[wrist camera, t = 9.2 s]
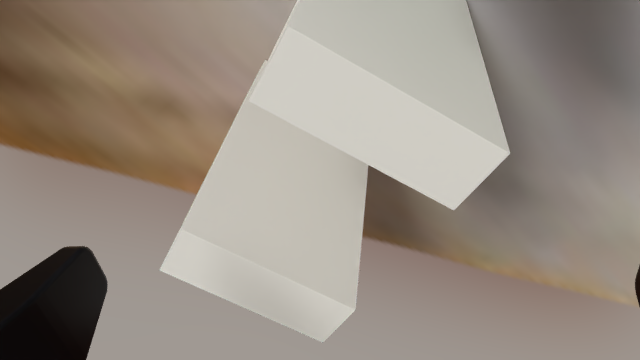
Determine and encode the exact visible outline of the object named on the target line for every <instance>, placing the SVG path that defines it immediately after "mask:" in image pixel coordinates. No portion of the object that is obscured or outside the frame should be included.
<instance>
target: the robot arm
mask: <svg viewBox="0 0 640 360" xmlns="http://www.w3.org/2000/svg"><path fill="white" fill-rule="evenodd" d="M635 290H636V295H637V299H638V303H639V306H640V266H639V269H638V272H637V275H636V279H635ZM106 293H107V279H106V276H105V274H104V272H103V270H102V269H101V267H100V265H99V263H98V261H97V259H96V257H95V256H94V254H93V252H92V251H91V250H90V249H89V248H88V247H84V246H77V247H64V248H62V249H60V250H59V251H57V252H56V253H54V254H53V255H51V256H50V257H48V258H47V259H45V260H44V261H42V262H41V263H39V264H38V265H36V266H35V267H33V268H32V269H30V270H29V271H27V272H26V273H24V274H23V275H21V276H20V277H18V278H17V279H15V280H14V281H12V282H11V283H9V284H8V285H6V286H5V287H3V288H2V289H0V360H86V358H87V354H88V352H89V348H90V345H91V342H92V338H93V335H94V332H95V329H96V325H97V322H98V319H99V316H100V312H101V309H102V306H103V302H104V299H105V296H106Z"/></svg>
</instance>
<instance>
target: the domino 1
mask: <svg viewBox="0 0 640 360" xmlns="http://www.w3.org/2000/svg"><path fill="white" fill-rule="evenodd" d="M267 62H268V61H267V60H266V59H265V61H264V63H263V65H262V67H261V68H260V70H259V72H258V74H257V76H256V78H255V80H254V82H253V84H252V86H251V88H250V90H249V92H248V93H247V95H246V97H245V99H244V101H243V103H242V105H241V107H240V109H239V111H238V113H237V115H236V117H235V119H234V121H233V123H232V125H231V127H230V129H229V131H228V133H227V135H226V137H225V139H224V141H223V143H222V146H221V148H220V150H219V152H218V154H217V156H216V158H215V160H214V162H213V164H212V166H211V168H210V170H209V172H208V174H207V176H206V178H205V180H204V182H203V184H202V186H201V188H200V190H199V192H198V194H197V196H196V198H195V200H194V202H193V204H192V206H191V208H190V210H189V212H188V214H187V216H186V218H185V220H184V222H183V224H182V226H181V228H180V230H179V232H178V234H177V236H176V238H175V240H174V242H173V244H172V246H171V248H170V250H169V252H168V254H167V256H166V258H165V260H164V262H163V264H162V266H161V268H160V271H162V272H164V273H167V274H169V275H171V276H173V277H175V278H178V279H180V280H182V281H184V282H187V283H189V284H192V285H194V286H196V287H198V288H201V289H203V290H205V291H207V292H209V293H212V294H214V295H216V296H218V297H221V298H223V299H225V300H227V301H230V302H232V303H234V304H236V305H239V306H241V307H243V308H245V309H248V310H250V311H252V312H255V313H257V314H259V315H261V316H264V317H266V318H268V319H270V320H273V321H275V322H277V323H279V324H282V325H284V326H286V327H289V328H291V329H293V330H295V331H297V332H300V333H302V334H304V335H307V336H309V337H311V338H313V339H316V340H318V341H320V342H322V343H323V342H324V341H325V340H326V339H327V338H328V337H329V336H330V335H331V334H332V333H333V332H334V331H335V330H336V329H337V328H338V327H339V326H340V325H341V324H342V323H343V322H344V321H345V320H346V319H347V318H348V317H349V316H350V315H351V314H352V313H353V312H354V311H355V310H356V301H357V289H358V277H359V267H360V255H361V243H362V233H363V221H364V210H365V198H366V187H367V176H368V164H366V163H364V162H362V161H360V160H358V159H356V158H354V157H353V156H351V155H349V154H347V153H345V152H343V151H341V150H339V149H338V148H336V147H334V146H332V145H330V144H328V143H326V142H324V141H322V140H321V139H319V138H317V137H315V136H313V135H311V134H309V133H307V132H306V131H304V130H302V129H300V128H298V127H296V126H294V125H292V124H291V123H289V122H287V121H285V120H283V119H281V118H279V117H277V116H276V115H274V114H272V113H270V112H268V111H266V110H264V109H262V108H260V107H259V106H257V105H255V104H253V103H251V102H249V99H250V97H251V95H252V93H253V90H254V88H255V86H256V84H257V82H258V80H259V78H260V76H261V74H262V72H263V70H264V68H265V66H266V64H267Z"/></svg>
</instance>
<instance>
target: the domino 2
mask: <svg viewBox="0 0 640 360" xmlns="http://www.w3.org/2000/svg"><path fill="white" fill-rule="evenodd" d="M249 102H251V103H253V104H255V105H257V106H259V107H260V108H262V109H264V110H266V111H268V112H270V113H272V114H274V115H276V116H277V117H279V118H281V119H283V120H285V121H287V122H289V123H291V124H292V125H294V126H296V127H298V128H300V129H302V130H304V131H306V132H307V133H309V134H311V135H313V136H315V137H317V138H319V139H321V140H322V141H324V142H326V143H328V144H330V145H332V146H334V147H336V148H338V149H339V150H341V151H343V152H345V153H347V154H349V155H351V156H353V157H354V158H356V159H358V160H360V161H362V162H364V163H366V164H368V165H369V166H371V167H373V168H375V169H377V170H379V171H381V172H383V173H384V174H386V175H388V176H390V177H392V178H394V179H396V180H398V181H399V182H401V183H403V184H405V185H407V186H409V187H411V188H413V189H415V190H416V191H418V192H420V193H422V194H424V195H426V196H428V197H430V198H431V199H433V200H435V201H437V202H439V203H441V204H443V205H445V206H446V207H448V208H450V209H452V210H455V209H456V208H457V207H458V206H459V205H460V204H461V203H462V202H463V201H464V200H465V199H466V198H467V197H468V196H469V195H470V194H471V193H472V192H473V191H474V190H475V189H476V188H477V187H478V186H479V185H480V184H481V183H482V182H483V181H484V180H485V179H486V178H487V177H488V176H489V175H490V173H491V172H492V171H493V170H494V169H495V168H496V167H497V166H498V165H499V164H500V163H501V162H502V161H503V160H504V159H505V158H506V157H507V156H508V155H509V154H510V151H509V147H508V144H507V140H506V137H505V133H504V130H503V126H502V123H501V119H500V116H499V113H498V109H497V106H496V102H495V99H494V95H493V92H492V88H491V85H490V81H489V78H488V75H487V71H486V68H485V64H484V61H483V57H482V54H481V50H480V47H479V43H478V40H477V36H476V33H475V30H474V26H473V23H472V19H471V16H470V12H469V9H468V5H467V2H466V0H297V2H296V4H295V6H294V8H293V10H292V12H291V14H290V16H289V18H288V20H287V22H286V25H285V27H284V29H283V31H282V33H281V35H280V37H279V39H278V41H277V43H276V45H275V47H274V49H273V51H272V53H271V55H270V57H269V60H268V62H267V64H266V66H265V68H264V70H263V72H262V74H261V76H260V78H259V80H258V82H257V84H256V86H255V88H254V90H253V93H252V95H251V97H250V99H249Z"/></svg>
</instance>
